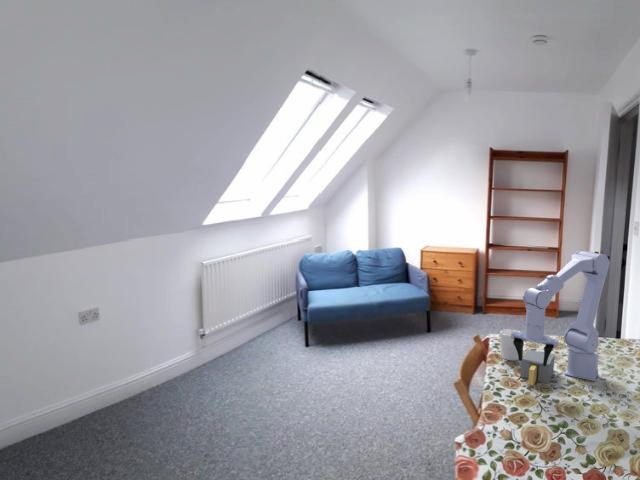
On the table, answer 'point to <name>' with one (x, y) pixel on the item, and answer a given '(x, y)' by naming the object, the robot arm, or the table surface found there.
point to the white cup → (508, 345)
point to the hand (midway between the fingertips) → (532, 362)
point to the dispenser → (537, 359)
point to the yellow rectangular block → (533, 374)
